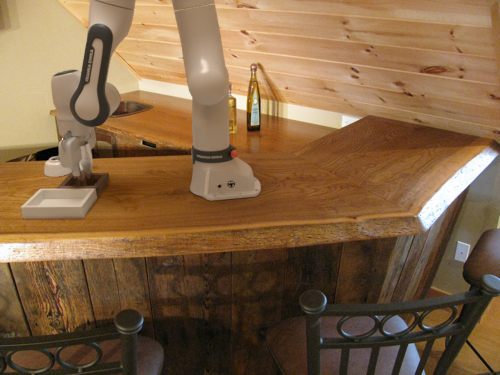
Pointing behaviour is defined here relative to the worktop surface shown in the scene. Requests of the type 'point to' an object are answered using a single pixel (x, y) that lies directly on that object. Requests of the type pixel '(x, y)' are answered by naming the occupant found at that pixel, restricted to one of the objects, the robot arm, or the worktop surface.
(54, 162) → the inkwell
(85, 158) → the beer glass
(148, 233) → the worktop surface
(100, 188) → the walnut collar
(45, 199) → the cream white tray
